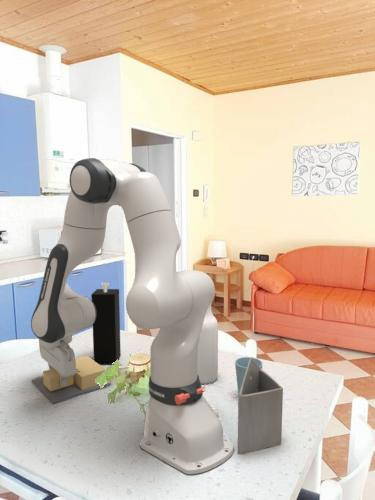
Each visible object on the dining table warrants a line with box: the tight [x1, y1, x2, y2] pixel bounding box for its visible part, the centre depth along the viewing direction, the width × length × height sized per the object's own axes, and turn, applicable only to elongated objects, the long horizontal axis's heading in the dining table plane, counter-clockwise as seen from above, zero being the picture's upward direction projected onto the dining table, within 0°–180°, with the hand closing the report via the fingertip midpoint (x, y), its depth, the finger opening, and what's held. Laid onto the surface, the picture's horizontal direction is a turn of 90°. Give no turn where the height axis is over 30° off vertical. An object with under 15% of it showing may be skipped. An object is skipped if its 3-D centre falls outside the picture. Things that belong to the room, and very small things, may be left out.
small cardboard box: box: [42, 369, 74, 391], centre depth 119 cm, size 6×7×4 cm
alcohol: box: [197, 303, 219, 385], centre depth 123 cm, size 9×9×30 cm
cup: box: [234, 356, 264, 397], centre depth 112 cm, size 8×8×10 cm
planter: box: [237, 356, 284, 455], centre depth 92 cm, size 16×8×19 cm, turn 154°
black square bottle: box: [90, 281, 122, 365], centre depth 138 cm, size 8×8×28 cm
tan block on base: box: [31, 355, 112, 405], centre depth 122 cm, size 18×18×5 cm
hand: (58, 380), depth 119 cm, fingers closed on small cardboard box, 6 cm apart
